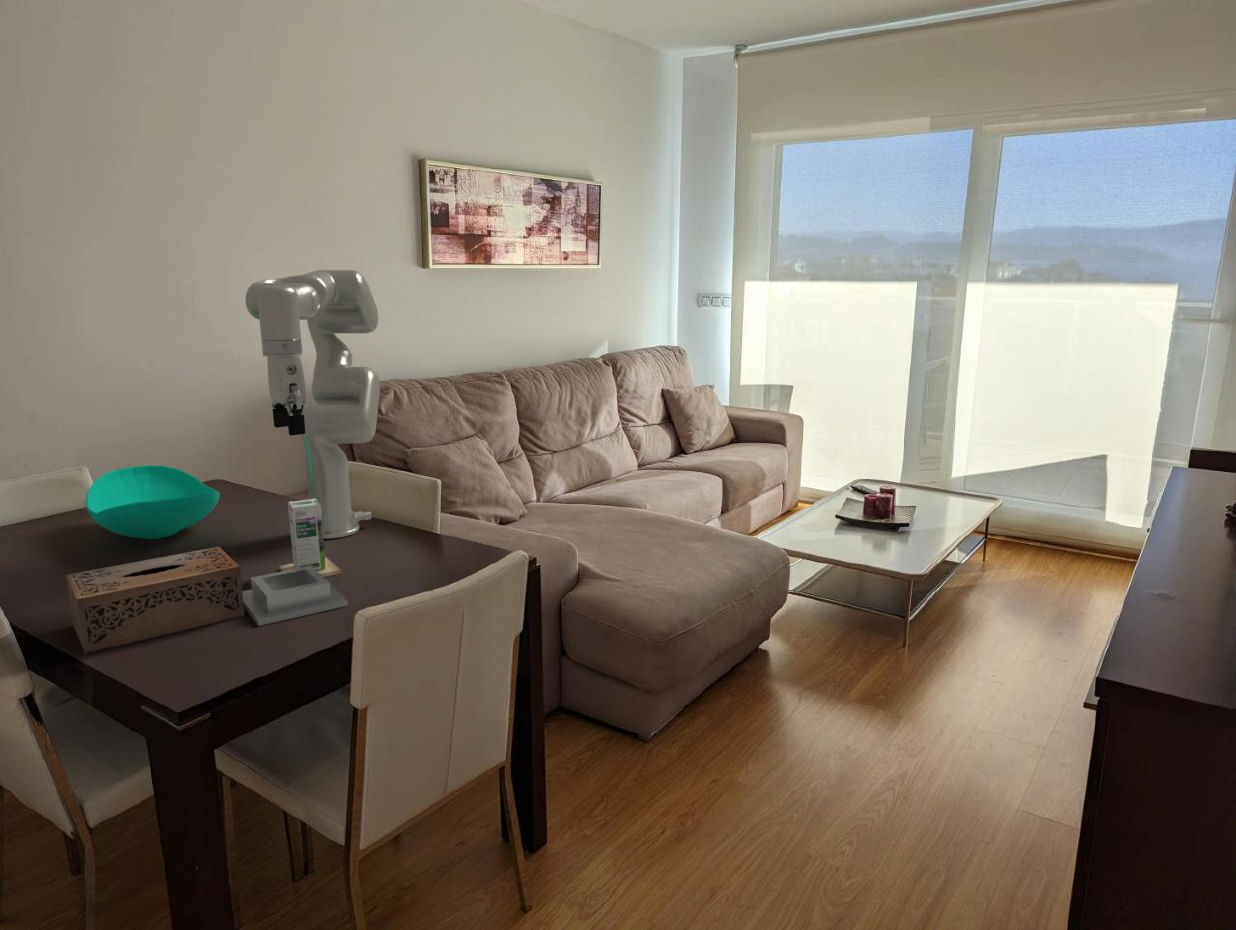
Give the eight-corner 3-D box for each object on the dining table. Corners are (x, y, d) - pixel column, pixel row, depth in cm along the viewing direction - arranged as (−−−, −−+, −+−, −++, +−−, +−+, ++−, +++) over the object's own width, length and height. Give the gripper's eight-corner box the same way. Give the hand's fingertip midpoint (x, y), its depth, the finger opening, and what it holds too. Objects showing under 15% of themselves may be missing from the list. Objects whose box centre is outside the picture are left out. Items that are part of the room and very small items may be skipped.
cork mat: (326, 560, 189) (325, 557, 189) (341, 573, 182) (340, 569, 181) (279, 569, 184) (279, 566, 184) (292, 583, 176) (292, 579, 176)
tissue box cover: (224, 594, 171) (219, 546, 169) (245, 617, 160) (239, 566, 158) (73, 626, 155) (65, 574, 153) (85, 654, 144) (76, 599, 142)
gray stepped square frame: (321, 580, 177) (319, 560, 176) (347, 605, 165) (346, 583, 163) (237, 598, 168) (234, 576, 167) (258, 626, 155) (256, 603, 154)
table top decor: (245, 542, 201) (240, 488, 198) (112, 569, 184) (104, 509, 180) (195, 506, 230) (190, 458, 227) (76, 526, 213) (68, 475, 210)
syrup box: (297, 573, 179) (292, 507, 176) (292, 565, 184) (287, 500, 181) (326, 569, 182) (320, 503, 178) (320, 561, 187) (315, 497, 183)
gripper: (315, 350, 169) (322, 435, 173) (287, 343, 182) (294, 421, 186) (276, 353, 164) (284, 440, 168) (250, 345, 177) (258, 426, 182)
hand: (289, 430), depth 177 cm, fingers open, 9 cm apart
